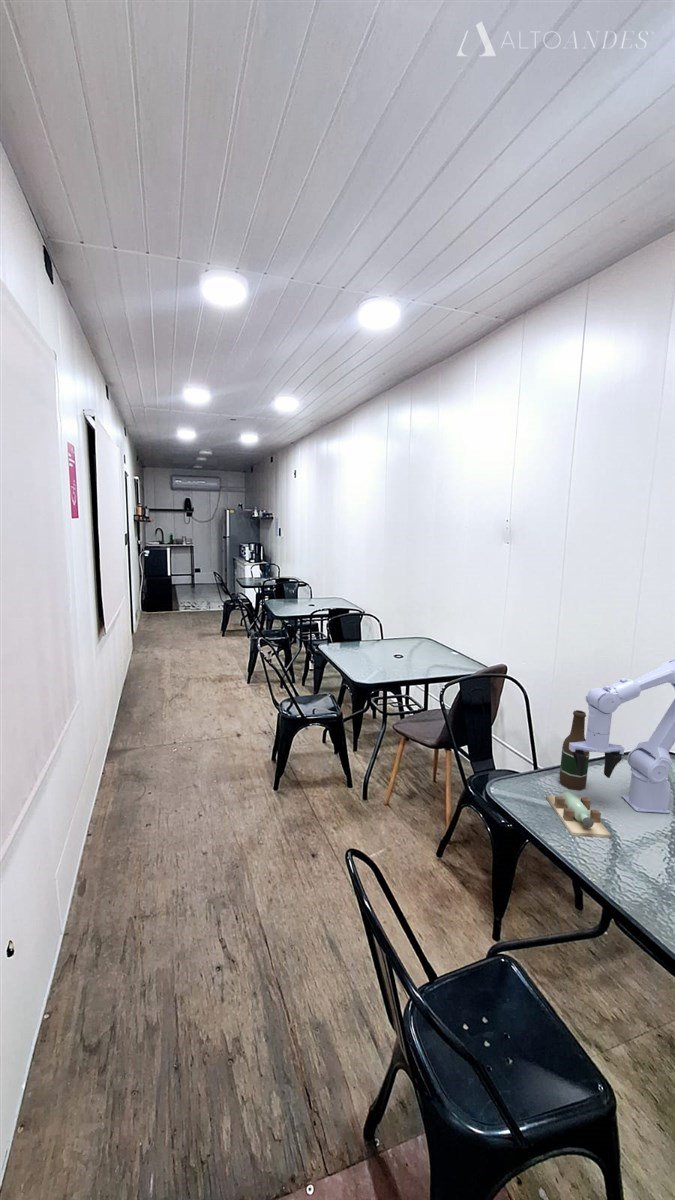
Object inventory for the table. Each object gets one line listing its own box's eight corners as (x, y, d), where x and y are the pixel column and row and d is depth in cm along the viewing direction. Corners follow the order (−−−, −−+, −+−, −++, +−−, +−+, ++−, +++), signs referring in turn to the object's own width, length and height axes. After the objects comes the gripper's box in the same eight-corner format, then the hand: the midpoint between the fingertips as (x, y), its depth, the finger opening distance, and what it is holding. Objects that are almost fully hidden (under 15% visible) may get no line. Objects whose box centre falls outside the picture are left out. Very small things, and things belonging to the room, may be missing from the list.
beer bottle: (562, 775, 157) (569, 705, 153) (588, 783, 152) (596, 711, 148) (555, 784, 151) (562, 711, 147) (582, 793, 146) (590, 718, 142)
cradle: (580, 799, 142) (581, 788, 142) (610, 837, 125) (612, 824, 124) (545, 797, 143) (546, 786, 142) (571, 835, 125) (573, 822, 125)
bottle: (575, 803, 138) (575, 790, 138) (596, 830, 126) (596, 815, 125) (561, 804, 139) (561, 791, 138) (581, 830, 126) (580, 816, 126)
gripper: (617, 726, 140) (611, 769, 142) (566, 723, 140) (561, 767, 142) (630, 736, 133) (624, 782, 135) (577, 733, 134) (572, 779, 135)
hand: (593, 775), depth 138 cm, fingers open, 7 cm apart
